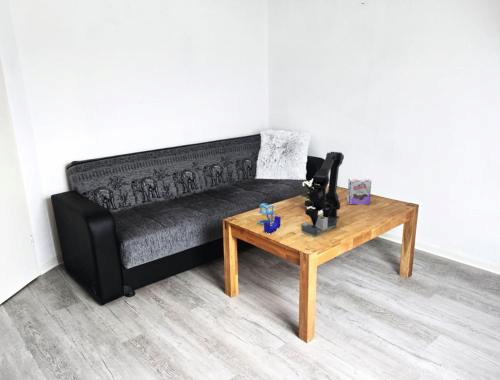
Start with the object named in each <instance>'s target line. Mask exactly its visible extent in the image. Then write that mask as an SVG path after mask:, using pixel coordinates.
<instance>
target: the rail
mask: <svg viewBox="0 0 500 380" xmlns="http://www.w3.org/2000/svg"><path fill="white" fill-rule="evenodd" d="M321 216H323V214H322V215H321ZM337 219H338V218H334V217H330V216H328V225H327V229H325V230H321V229H318V227H316V226H313V225H311V224H310V223H308V222H302V223H301V228H300V229H301V233H302V234H306V235H308V236H311V237H316V236H318V235H320V234H323V233H324V232H327V231H329V230H331V229H333V228H335V227H337V223H338V221H337Z"/></svg>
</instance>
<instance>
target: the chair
mask: <svg viewBox="0 0 500 380" xmlns="http://www.w3.org/2000/svg"><path fill="white" fill-rule="evenodd" d="M274 206H275V205H271V204H268V203H265V202H263V203H261V204H259V211H258V214H262V215H265V216H266V218H267V219H262V220H258V221H257V222H256V223H257V224H258V223H259V224H258V225H261V224H262V225H261V226H264V222H265V221H266V222H270V225H272V224H273V222H274V215H275V211H274ZM269 208H271V209H269Z"/></svg>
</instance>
